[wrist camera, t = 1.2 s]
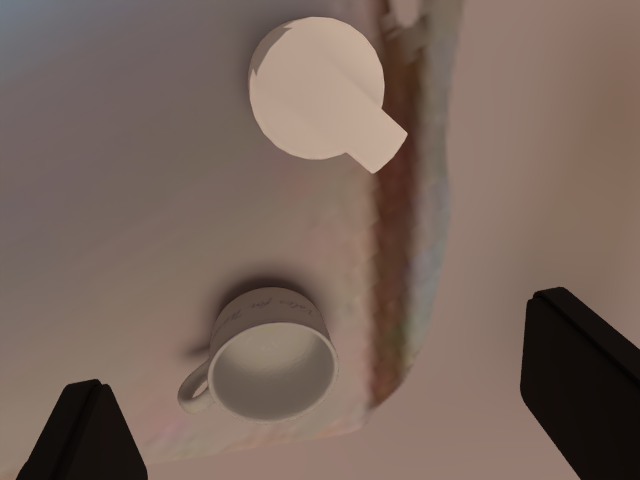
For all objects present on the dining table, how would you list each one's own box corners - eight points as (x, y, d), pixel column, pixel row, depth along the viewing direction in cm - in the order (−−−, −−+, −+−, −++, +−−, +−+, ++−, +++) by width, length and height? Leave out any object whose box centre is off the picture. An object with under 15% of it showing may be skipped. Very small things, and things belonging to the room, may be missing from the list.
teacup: (312, 260, 42) (327, 308, 35) (332, 351, 47) (349, 410, 40) (162, 297, 41) (145, 353, 34) (198, 386, 46) (190, 452, 39)
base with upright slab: (385, 74, 36) (447, 94, 26) (313, 162, 38) (342, 215, 28) (298, -11, 33) (327, -29, 22) (223, 91, 35) (217, 119, 24)
